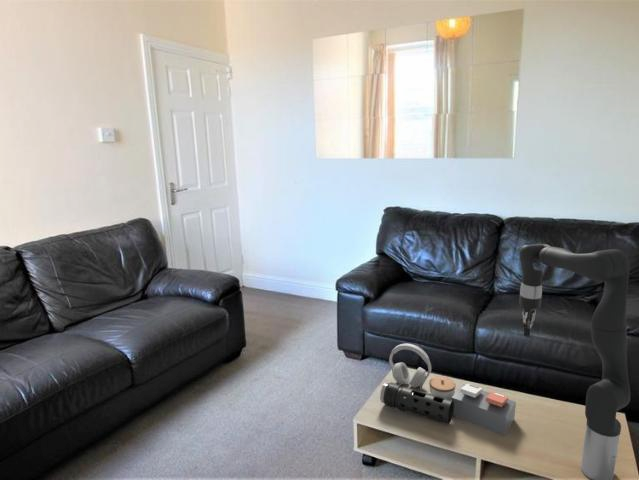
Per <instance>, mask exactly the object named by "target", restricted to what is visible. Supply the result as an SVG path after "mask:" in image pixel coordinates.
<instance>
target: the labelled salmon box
mask: <svg viewBox="0 0 639 480" xmlns="http://www.w3.org/2000/svg"><path fill="white" fill-rule="evenodd" d="M490 393H491V394H489V395H488V396H487V397H486V402H489V403H491V404H494V405H497V406H500V407H502V406H503V405H504V404H505V403H506V402H507V401H508V399H509V396H506V395H502V394H500V393H497V392H494V391H492V392H490Z"/></svg>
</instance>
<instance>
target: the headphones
mask: <svg viewBox="0 0 639 480" xmlns="http://www.w3.org/2000/svg"><path fill="white" fill-rule="evenodd" d="M402 350H409V351H413V352H414V353H416V354H417V355H419V357H420V358H421V359H422V360H423V361H424V362H425V363H426V365H427V369H428V371H427V374H426V369H424V368H422V367H420V366H419V367H418V368H417V370H416V371H415V373H414V374H413V376H412V378H411V380H410V371H409V369H408V366H407V364H406V363H405V362H401V361H400V362H397V363H395V364H394V362H393V357H394V355H395V354H397V353H398V352H399V351H402ZM388 361H389V362H388V363H389V367H390V369H391V372H392V377H393V379H394V380H395V382H396V384H398V385H400V386H401V385H407V384H409V386H411V387H412V388H413V389H415V388H419V390H421V389H422V387H423V386H424V385H425V382H426V381H427V379H428V378H429V376H430V374H431V372H432V363H431V360H430V357H429V355H428V354H427V353H426V351H424V349H422V348H421V347H420V346H418V345H415V344H412V343H407V342H406V343H401V344H398V345H396V346H395V347H394V348H392V350H391V352H390V354H389V359H388Z"/></svg>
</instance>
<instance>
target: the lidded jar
mask: <svg viewBox="0 0 639 480" xmlns="http://www.w3.org/2000/svg"><path fill="white" fill-rule="evenodd" d="M428 383H429V392H430V393H429V394H431V395H434V396H438V397H441V398H445V399H448V400H452V396H453V395H454V394H455V393H456V385H457V384H456V382H455V381H454V380H453V379H452V378H450V377H448V376H444V375H441V376H440V375H438V376H433V377H431V378H430V379H429V382H428Z"/></svg>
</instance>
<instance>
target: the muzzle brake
mask: <svg viewBox="0 0 639 480" xmlns="http://www.w3.org/2000/svg"><path fill="white" fill-rule="evenodd" d="M379 395H380V396H379V397H380V398H379V399H380V402H381V403H383V404H384V405H385V406H386V407H389V408H392V409H397V410H399V411H400V412H401V411H402V412H407V413H410V414H413V415H416V416H420V417H424V418H426V419H429V420H432V421H436V422H438V423H441V424H444V425H450V424H451V422H452V420H453V417H454V416H453V411H454V402H453V401H452V399H451V400H448V399H445V398H441V397H438V396H434V395H431V393H426V392H423V391H419V390H417V389H414V388H409V387H406V386H401V384H399V383H396V382H395V383H394V382H385V383H384V384H382V387H381V389H380V394H379Z"/></svg>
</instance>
